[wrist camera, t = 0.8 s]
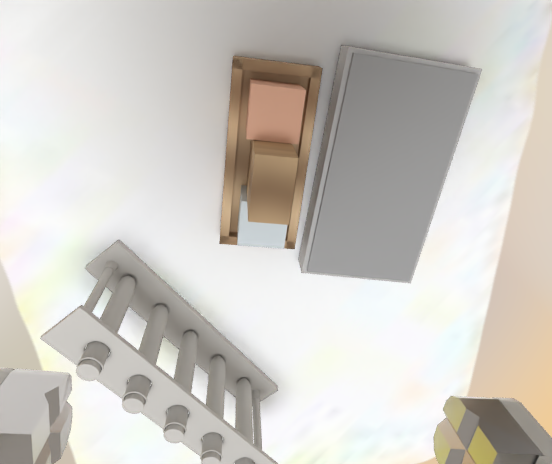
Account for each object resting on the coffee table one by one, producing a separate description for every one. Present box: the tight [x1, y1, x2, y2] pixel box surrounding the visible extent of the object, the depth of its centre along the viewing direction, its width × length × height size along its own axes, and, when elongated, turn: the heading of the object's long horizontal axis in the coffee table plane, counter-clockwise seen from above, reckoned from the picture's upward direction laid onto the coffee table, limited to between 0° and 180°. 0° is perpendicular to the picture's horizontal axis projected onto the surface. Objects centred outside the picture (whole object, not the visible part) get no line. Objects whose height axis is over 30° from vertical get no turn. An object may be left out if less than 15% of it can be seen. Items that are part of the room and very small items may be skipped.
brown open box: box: [220, 56, 323, 249], centre depth 34 cm, size 16×7×10 cm, turn 173°
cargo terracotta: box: [246, 78, 306, 144], centre depth 33 cm, size 4×4×4 cm
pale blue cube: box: [237, 185, 287, 249], centre depth 37 cm, size 4×4×4 cm
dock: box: [298, 45, 482, 283], centre depth 38 cm, size 20×11×3 cm, turn 171°
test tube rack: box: [40, 240, 278, 464], centre depth 40 cm, size 25×4×13 cm, turn 37°
